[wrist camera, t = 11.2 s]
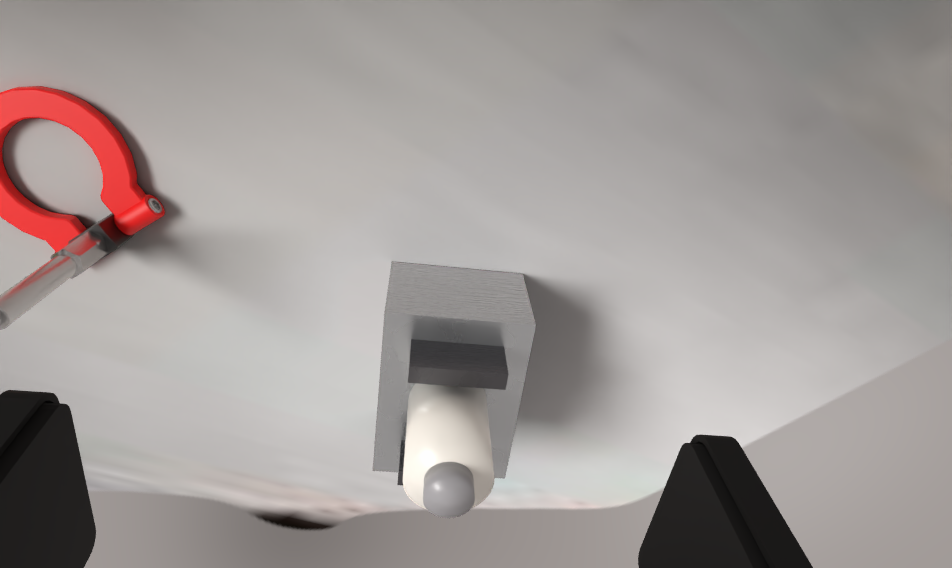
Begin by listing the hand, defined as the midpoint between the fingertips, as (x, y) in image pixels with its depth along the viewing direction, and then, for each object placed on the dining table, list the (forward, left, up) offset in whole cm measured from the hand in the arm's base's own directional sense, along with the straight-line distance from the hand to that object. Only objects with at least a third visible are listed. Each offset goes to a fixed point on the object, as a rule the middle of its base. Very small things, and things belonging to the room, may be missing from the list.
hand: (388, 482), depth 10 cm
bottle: (+15, +3, -21) cm, 26 cm away
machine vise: (+16, +3, -27) cm, 32 cm away
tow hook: (+6, -19, -28) cm, 34 cm away
